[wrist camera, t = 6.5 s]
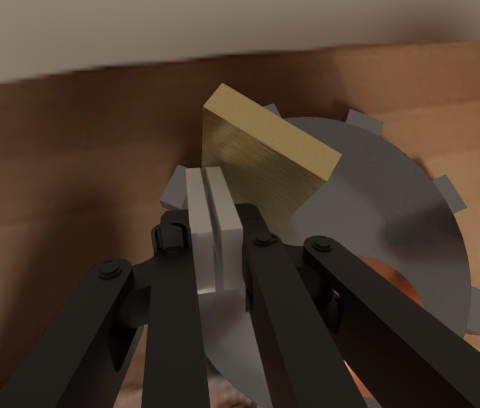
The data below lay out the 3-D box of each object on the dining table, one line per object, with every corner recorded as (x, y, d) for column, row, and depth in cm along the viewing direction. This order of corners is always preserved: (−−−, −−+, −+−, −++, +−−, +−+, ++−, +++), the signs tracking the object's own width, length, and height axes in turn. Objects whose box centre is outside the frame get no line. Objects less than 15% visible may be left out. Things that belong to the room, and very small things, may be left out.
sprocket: (173, 102, 24) (158, -23, 15) (436, 128, 26) (561, 36, 17) (134, 447, 16) (57, 620, 7) (501, 437, 19) (776, 557, 10)
